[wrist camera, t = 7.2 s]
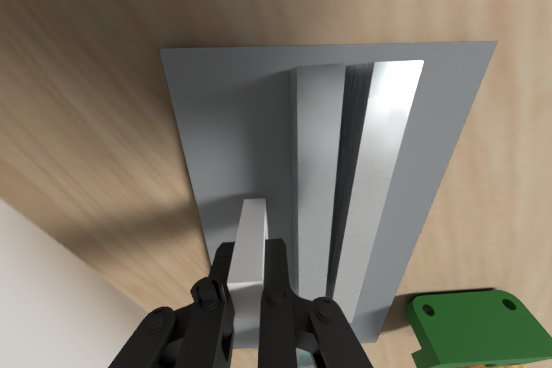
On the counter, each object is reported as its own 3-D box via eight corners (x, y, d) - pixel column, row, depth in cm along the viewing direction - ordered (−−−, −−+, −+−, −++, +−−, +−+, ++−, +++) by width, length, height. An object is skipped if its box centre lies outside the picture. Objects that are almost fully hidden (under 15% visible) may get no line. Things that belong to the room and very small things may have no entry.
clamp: (393, 284, 29) (396, 364, 23) (409, 264, 25) (418, 355, 19) (500, 318, 25) (538, 423, 19) (539, 300, 21) (603, 427, 15)
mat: (163, 49, 11) (158, 48, 11) (487, 42, 12) (497, 41, 11) (232, 343, 27) (231, 348, 26) (374, 337, 27) (376, 342, 26)
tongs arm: (289, 68, 11) (297, 66, 8) (325, 66, 11) (346, 63, 8) (294, 287, 20) (299, 325, 17) (314, 286, 20) (322, 324, 17)
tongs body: (302, 66, 12) (316, 63, 8) (380, 64, 12) (423, 60, 8) (292, 346, 26) (296, 384, 23) (327, 344, 26) (335, 383, 23)
